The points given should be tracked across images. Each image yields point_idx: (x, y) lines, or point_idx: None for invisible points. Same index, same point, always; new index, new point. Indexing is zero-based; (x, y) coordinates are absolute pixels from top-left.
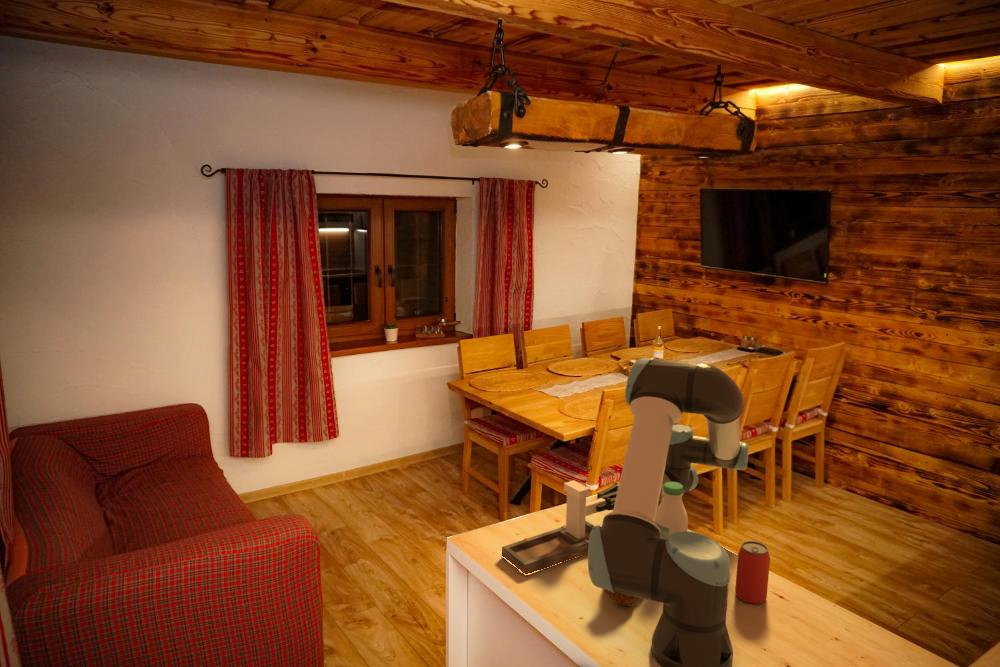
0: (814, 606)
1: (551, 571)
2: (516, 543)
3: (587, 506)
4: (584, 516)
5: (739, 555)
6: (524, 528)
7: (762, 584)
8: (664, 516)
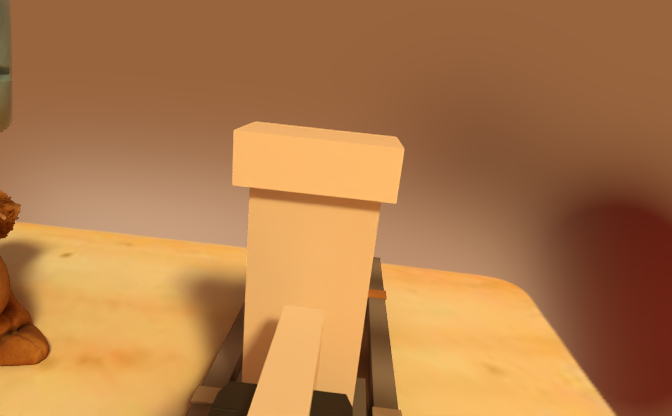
0: None
1: (236, 310)
2: (375, 276)
3: (282, 316)
4: (246, 303)
5: None
6: (534, 408)
7: None
8: None
